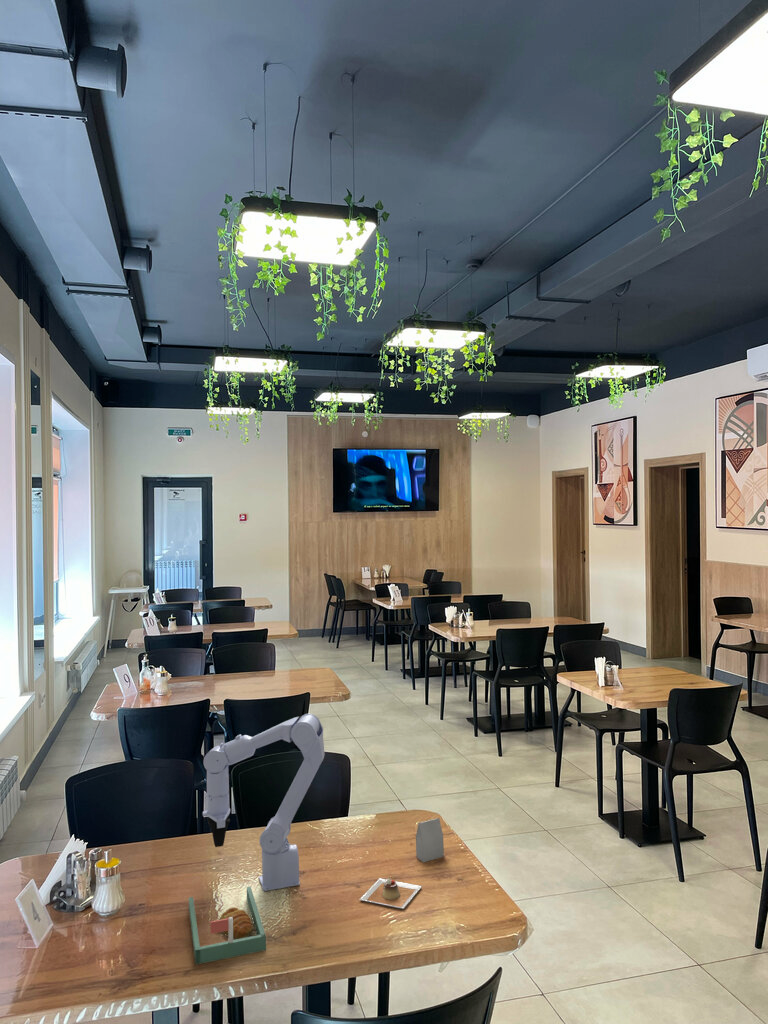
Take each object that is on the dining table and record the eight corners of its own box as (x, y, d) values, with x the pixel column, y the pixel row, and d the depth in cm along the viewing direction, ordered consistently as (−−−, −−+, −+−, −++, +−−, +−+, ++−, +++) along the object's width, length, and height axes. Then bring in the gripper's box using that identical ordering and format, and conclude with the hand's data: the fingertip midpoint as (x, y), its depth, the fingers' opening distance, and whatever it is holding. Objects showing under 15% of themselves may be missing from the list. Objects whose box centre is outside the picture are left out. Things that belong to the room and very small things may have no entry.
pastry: (260, 935, 163) (260, 918, 163) (233, 946, 159) (233, 928, 159) (241, 918, 170) (241, 902, 171) (215, 929, 166) (214, 912, 166)
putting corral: (250, 898, 179) (250, 866, 180) (266, 950, 157) (265, 912, 157) (188, 910, 175) (188, 876, 175) (195, 964, 152) (194, 926, 152)
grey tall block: (443, 856, 200) (442, 820, 200) (423, 862, 197) (422, 825, 197) (436, 851, 203) (435, 816, 204) (416, 857, 200) (415, 821, 200)
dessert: (422, 890, 182) (421, 871, 182) (403, 913, 171) (403, 893, 172) (379, 882, 187) (379, 863, 187) (359, 904, 176) (358, 884, 177)
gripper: (200, 786, 195) (201, 837, 195) (204, 805, 181) (205, 859, 181) (226, 783, 197) (227, 833, 197) (232, 801, 184) (233, 854, 183)
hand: (218, 845), depth 189 cm, fingers closed
